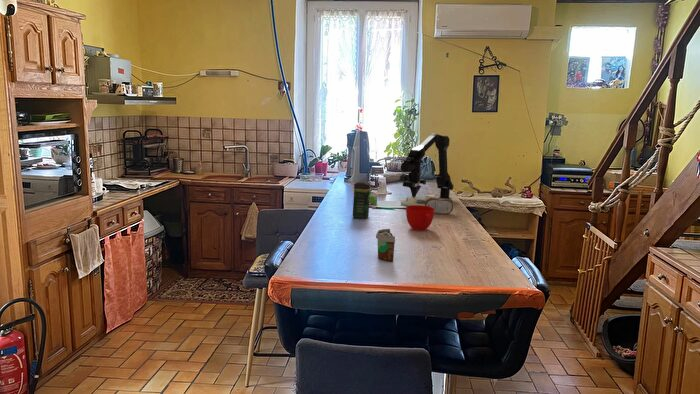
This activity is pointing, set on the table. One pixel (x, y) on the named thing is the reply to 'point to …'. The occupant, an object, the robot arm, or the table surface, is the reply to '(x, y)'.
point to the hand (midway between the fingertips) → (413, 197)
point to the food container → (385, 245)
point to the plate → (420, 200)
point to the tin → (440, 205)
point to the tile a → (412, 199)
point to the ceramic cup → (419, 216)
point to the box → (405, 202)
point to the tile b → (429, 196)
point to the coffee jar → (361, 199)
